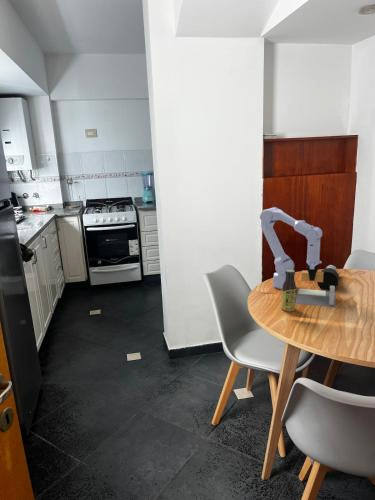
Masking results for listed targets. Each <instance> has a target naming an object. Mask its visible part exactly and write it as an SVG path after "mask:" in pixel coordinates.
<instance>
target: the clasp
mask: <svg viewBox="0 0 375 500" xmlns="http://www.w3.org/2000/svg"><path fill="white" fill-rule="evenodd" d="M335 290H336V288H335V286H330V290H329V291H330V296H329V305H334V295H335V296H336V291H335Z"/></svg>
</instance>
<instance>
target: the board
mask: <svg viewBox="0 0 375 500" xmlns="http://www.w3.org/2000/svg"><path fill="white" fill-rule="evenodd" d="M329 296H330V290H322V289H321V290H320V289H309V288H307V289H306V288H297V290H296V305H304V306H306V305H308V306H318V307H328V308H336V305H337V304H336V294H335V295H334V305H329Z"/></svg>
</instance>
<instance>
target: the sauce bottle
mask: <svg viewBox="0 0 375 500" xmlns="http://www.w3.org/2000/svg"><path fill="white" fill-rule="evenodd" d="M285 273H286V278H285V281H284V283H283V288H282V289H281V304H280V306H281V307H280V308H281V310H282V311H283V312H286V313H288V312H289V313H290V312H291V313H292V312H295V310H296V306H297V304H296V295H297V284H296V282H295V274H296V271H295V269H293V270H291V269H288V270H286V272H285Z"/></svg>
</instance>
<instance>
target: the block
mask: <svg viewBox="0 0 375 500" xmlns="http://www.w3.org/2000/svg"><path fill="white" fill-rule="evenodd" d="M301 271H302V272H301V281H304V282H314V283H317V282H323V273H324V272H321V271H317V272H316V276H315V280H314V281H311V280H310V279H309V273H308V270H301Z"/></svg>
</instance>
